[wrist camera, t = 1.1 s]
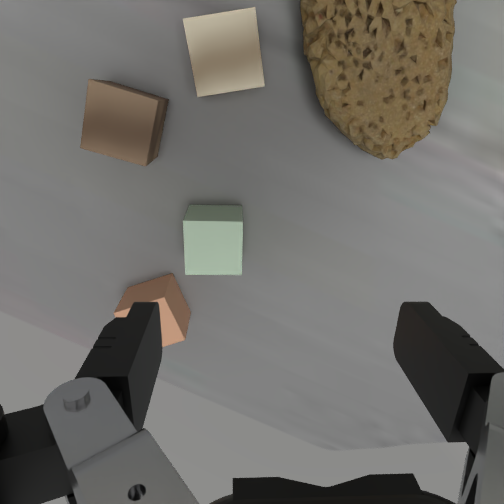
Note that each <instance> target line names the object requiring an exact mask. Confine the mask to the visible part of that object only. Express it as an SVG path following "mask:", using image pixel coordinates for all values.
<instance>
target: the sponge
mask: <svg viewBox="0 0 504 504" xmlns="http://www.w3.org/2000/svg"><path fill="white" fill-rule="evenodd" d="M456 3H457V1H456V0H301V3H300V9H301V16H302V22H303V27H304V32H303V38H304V45H303V46H304V55H306V56H307V60H308V62H309V63H310V66H311V70H312V74H313V78H314V82H315V86H316V95H317V97H318V99H319V102H320V104H321V107H322V108H323V109H324V112H325V116H326V117H328V118H329V119H330V120H331V121H332V122H333V123H334V124H335V125H336V127H337V128H338V129H339V130H340V131H341V132H342V133H343V134H344V135H345V136H346V137H347V138H349V139H350V140H351V141H352V142H353V144H354V145H357V146H358V147H359V148H361V149H362V150H363V151H365V152H367V153H369V154H371V155H373V156H375V157H377V158H380V159H385V158H390V159H394V158H397V157H398V156H399V154H400V153H401V152H402V151H404V150H405V149H408V148H410V147H413V146H414V144H415V142H417V141H420V140H422V139H423V138H425V137H426V136H427V135H428V134H429V133H430V132H429V130H430V128H431V126H430V125H433V126H437V124H438V121H439V119H440V116H441V113H442V111H443V108H444V106H445V104H446V102H447V98H448V86H449V83H450V79H451V73H452V59H451V53H452V49H453V36H454V33H455V28H454V19H453V9H454V5H455V4H456Z"/></svg>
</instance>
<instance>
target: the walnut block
mask: <svg viewBox="0 0 504 504" xmlns="http://www.w3.org/2000/svg"><path fill="white" fill-rule="evenodd" d="M168 101H169V99H165V98H162V97H159V96H156V95H153V94H149V93H146V92H143V91H140V90H137V89H133V88H130V87H127V86H124V85H121V84H117V83H114V82H111V81H104V80H93V79H89V80H88V88H87V97H86V105H85V113H84V121H83V129H82V138H81V146H80V148H82V149H86V150H89V151H93V152H96V153H100V154H103V155H107V156H110V157H114V158H117V159H121V160H125V161H128V162H132V163H135V164H139V165H142V166H147V165H148V164H149V163H150V162H152V161H153V160H154V159H155V158H156V157H157V156H158V151H159V146H160V141H161V136H162V131H163V126H164V121H165V116H166V111H167V106H168Z"/></svg>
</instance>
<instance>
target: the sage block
mask: <svg viewBox="0 0 504 504" xmlns="http://www.w3.org/2000/svg"><path fill="white" fill-rule="evenodd" d="M183 232H184V255H185V275H242V240H243V216H242V206H237V205H189V207H188V210H187V212H186V215H185V217H184V220H183Z"/></svg>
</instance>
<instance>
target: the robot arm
mask: <svg viewBox="0 0 504 504" xmlns="http://www.w3.org/2000/svg"><path fill="white" fill-rule="evenodd" d="M393 348H394V354H395V358H396V360H397V362H398V363H399V365H400V367H401V368H402V370H403V371H404V373H405V375H406V376H407V378H408V379H409V381H410V383H411V384H412V386H413V387H414V389H415V391H416V392H417V394H418V395H419V397H420V399H421V400H422V402H423V403H424V405H425V407H426V408H427V410H428V411H429V413H430V415H431V416H432V418H433V419H434V421H435V423H436V424H437V426H438V427H439V429H440V431H441V432H442V434H443V435H444V437H445V439H446V440H447V442H466V443H467V444H468V445H469V449H468V452H467V455H466V459H465V465H464V470H463V476H462V481H461V487H460V492H459V498H458V503H457V504H504V369H503V368H502V367H501V366H500V365H499V364H498V363H497V362H496V361H495V360H494V359H493V358H492V357H491V356H490V355H489V354H488V353H487V352H486V351H485V350H484V349H483V348H482V347H481V346H479V345H478V343H477V342H476V341H475V340H474V339H473V338H470V335H469V334H468V333H467V332H466V331H465V330H464V329H463V328H462V327H461V326H460V325H458V324H457V323H455V322H453V321H452V320H450V319H448V318H446V317H443V316H442V315H441V314H440V313H439V312H438V311H437V310H436V309H435V308H434V307H433V306H432V305H431V304H430V303H429V302H404V303H402V305H401V307H400V311H399V316H398V321H397V327H396V332H395V337H394V342H393ZM161 357H162V334H161V321H160V309H159V304H158V302H134V303H133V304H132V306H131V308H130V310H129V312H128V314H127V316H126V317H116V318H115V319H113V320H112V321H111V322H110V323H108V324H107V325H106V326H104V328H103V330H102V332H101V333H100V335H99V337H98V340H96V342H95V344H94V346H93V349H91V351H90V353H89V355H88V356H87V358H86V360H85V362H84V363H83V365H82V367H81V369H80V370H79V372H78V374H77V376H76V377H75V379H74V380H71V381H68V382H66V383H64V384H62V385H60V386H58V387H57V388H56V389H54V390H53V391H52V392H51V393H50V394H49V395H48V397H47V398H46V400H45V402H44V404H43V405H40V406H37V407H33V408H30V409H25V410H21V411H17V412H13V413H9V414H5V415H4V411H3V408H2V406H1V405H0V504H41V503H44V502H47V501H50V500H53V499H56V498H60V497H63V496H65V498H66V501H67V504H199V503H198V501H197V500H196V498H195V497H194V496H193V494H192V492H191V491H190V490H189V488H188V487H187V485H186V484H185V483H184V481H183V480H182V478H181V477H180V475H179V474H178V472H177V471H176V470H175V468H174V467H173V466H172V464H171V462H170V461H169V460H168V458H167V457H166V455H165V454H164V452H163V451H162V449H161V448H160V447H159V445H158V444H157V442H156V441H155V439H154V438H153V436H152V435H151V434H150V433H149V431H148V430H146V429H144V428H143V424H144V421H145V417H146V413H147V410H148V406H149V403H150V399H151V395H152V392H153V388H154V384H155V381H156V377H157V374H158V370H159V366H160V363H161ZM142 428H143V429H142ZM210 504H455V503H453V502H451V501H450V500H448V499H445V498H443V497H441V496H438V495H435V494H432V493H429V492H426V491H422V490H421V489H420V487H419V485H418V483H417V481H416V479H415V477H414V475H413V474H378V475H377V474H376V475H367V476H364V477H361V478H357V479H354V480H351V481H347V482H344V483H341V484H338V485H334V486H331V487H321V486H316V485H312V484H307V483H303V482H298V481H294V480H289V479H284V478H280V477H261V478H233V494H231V495H228V496H225V497H222V498H220V499H218V500H215V501H214V502H212V503H210Z"/></svg>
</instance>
